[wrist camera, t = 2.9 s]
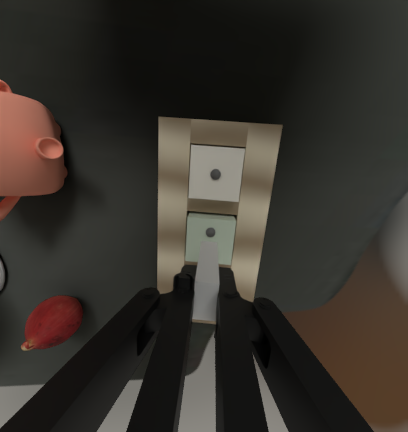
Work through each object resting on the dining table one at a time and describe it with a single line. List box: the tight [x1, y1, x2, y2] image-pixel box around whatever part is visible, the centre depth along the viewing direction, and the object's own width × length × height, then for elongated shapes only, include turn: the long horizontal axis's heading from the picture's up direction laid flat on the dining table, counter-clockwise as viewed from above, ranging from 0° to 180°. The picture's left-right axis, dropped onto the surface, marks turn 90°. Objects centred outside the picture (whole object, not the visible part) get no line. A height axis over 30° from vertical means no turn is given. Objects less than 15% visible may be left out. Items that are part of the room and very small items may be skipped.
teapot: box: [0, 80, 67, 221], centre depth 18 cm, size 12×12×10 cm
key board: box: [157, 117, 283, 324], centre depth 23 cm, size 24×12×3 cm, turn 176°
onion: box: [21, 295, 83, 351], centre depth 25 cm, size 6×6×8 cm
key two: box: [185, 211, 236, 265], centre depth 21 cm, size 5×5×3 cm
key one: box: [188, 145, 245, 202], centre depth 20 cm, size 5×5×3 cm
